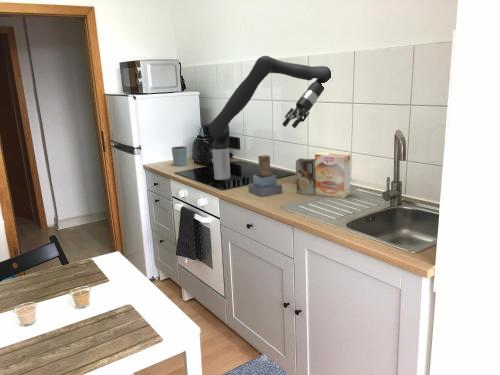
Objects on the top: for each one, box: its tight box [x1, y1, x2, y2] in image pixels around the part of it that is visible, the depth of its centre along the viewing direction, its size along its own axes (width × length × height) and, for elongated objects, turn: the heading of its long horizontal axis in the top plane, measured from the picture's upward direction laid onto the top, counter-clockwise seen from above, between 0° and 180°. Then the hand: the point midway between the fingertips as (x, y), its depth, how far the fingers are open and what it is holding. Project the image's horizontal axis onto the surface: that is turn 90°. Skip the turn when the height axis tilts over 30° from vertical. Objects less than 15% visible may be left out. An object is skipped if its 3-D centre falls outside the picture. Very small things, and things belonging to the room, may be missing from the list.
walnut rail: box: [258, 154, 271, 178], centre depth 207 cm, size 4×4×14 cm
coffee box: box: [295, 158, 316, 195], centre depth 204 cm, size 9×6×16 cm
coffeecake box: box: [314, 151, 352, 199], centre depth 198 cm, size 15×7×20 cm, turn 53°
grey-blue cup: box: [171, 145, 188, 167], centre depth 284 cm, size 10×10×12 cm
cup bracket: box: [247, 173, 283, 198], centre depth 209 cm, size 12×12×8 cm
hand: (288, 126), depth 212 cm, fingers open, 8 cm apart
